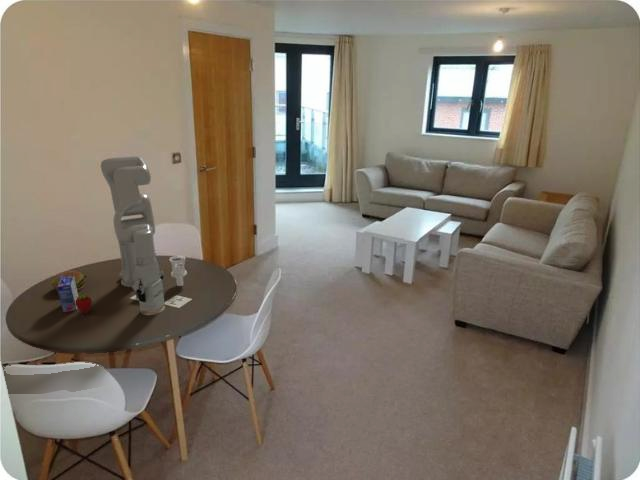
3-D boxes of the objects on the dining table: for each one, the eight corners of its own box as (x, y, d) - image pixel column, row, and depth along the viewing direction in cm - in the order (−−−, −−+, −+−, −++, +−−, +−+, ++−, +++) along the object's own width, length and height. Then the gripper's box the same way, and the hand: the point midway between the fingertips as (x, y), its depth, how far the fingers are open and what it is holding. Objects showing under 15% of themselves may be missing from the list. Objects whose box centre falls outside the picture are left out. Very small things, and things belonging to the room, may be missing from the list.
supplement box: (155, 313, 183) (152, 286, 178) (140, 310, 184) (136, 284, 180) (165, 305, 189) (162, 278, 185) (150, 302, 191) (146, 276, 187)
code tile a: (162, 304, 191) (162, 303, 191) (176, 295, 199) (176, 295, 199) (179, 308, 188) (179, 307, 188) (192, 299, 196) (192, 298, 196)
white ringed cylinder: (182, 289, 205) (179, 260, 200) (169, 286, 207) (166, 257, 202) (190, 283, 211) (188, 254, 206) (178, 280, 213) (175, 252, 208)
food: (46, 294, 198) (43, 279, 195) (65, 281, 211) (62, 266, 208) (75, 296, 197) (72, 280, 194) (93, 282, 210) (90, 267, 207)
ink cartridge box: (65, 302, 192) (59, 272, 187) (79, 300, 193) (73, 270, 188) (62, 312, 183) (55, 281, 178) (76, 310, 185) (70, 279, 180)
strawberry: (77, 319, 178) (73, 297, 175) (77, 311, 184) (73, 290, 181) (94, 316, 181) (90, 294, 177) (93, 308, 187) (89, 287, 184)
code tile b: (129, 298, 196) (129, 298, 195) (144, 290, 203) (144, 289, 203) (145, 302, 192) (145, 302, 192) (159, 294, 200) (159, 293, 200)
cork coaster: (135, 312, 184) (134, 311, 184) (151, 302, 193) (151, 301, 193) (153, 317, 181) (153, 316, 180) (170, 306, 189) (169, 305, 189)
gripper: (153, 250, 187) (158, 286, 193) (122, 265, 172) (128, 303, 178) (167, 253, 185) (171, 289, 191) (137, 268, 170) (142, 307, 176)
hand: (151, 296), depth 185 cm, fingers open, 9 cm apart
